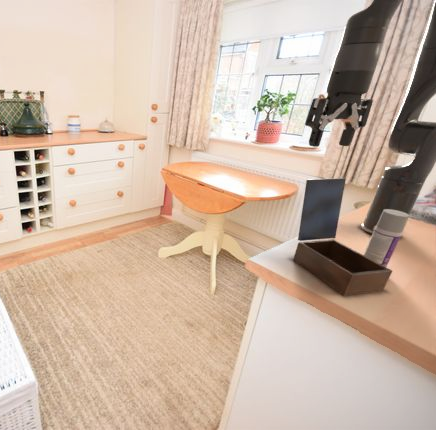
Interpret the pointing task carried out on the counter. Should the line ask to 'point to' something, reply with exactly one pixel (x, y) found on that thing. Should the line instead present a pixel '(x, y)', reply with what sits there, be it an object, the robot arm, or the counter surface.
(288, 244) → the counter surface
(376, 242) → the container
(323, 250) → the case
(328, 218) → the cover
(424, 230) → the counter surface
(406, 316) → the counter surface
